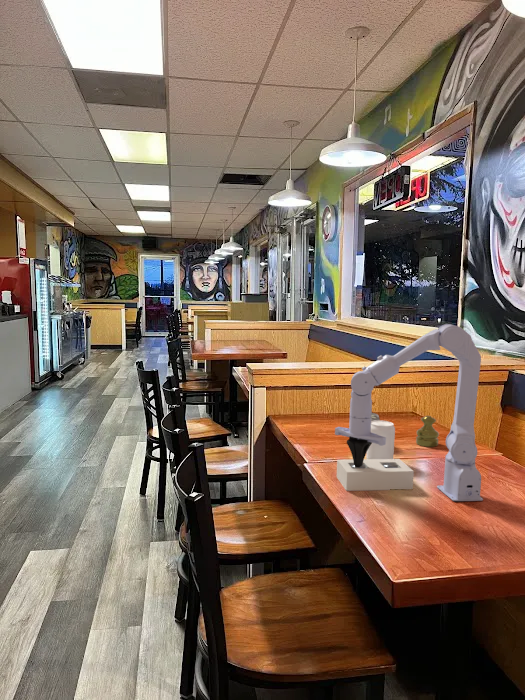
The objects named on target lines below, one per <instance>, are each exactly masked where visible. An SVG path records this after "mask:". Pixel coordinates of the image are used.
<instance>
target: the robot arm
mask: <svg viewBox="0 0 525 700" xmlns="http://www.w3.org/2000/svg"><path fill="white" fill-rule="evenodd" d="M441 347H442V348H443V349H445V350H447V351H448V352H450V353H451V354H452V355H453V356H454V357H455V359H456V360H457V361H459V367H458V376H457V384H456V385H457V386H456V391H455V392H456V393H455V402H454V403H455V404H454V412H453V413H454V414H453V419H452V420H453V421H452V423H451V426H450V430H449V433H448V434H447V436H446V437H445V446H446V447H447V450H448V452H447V454H445V459H444V460H445V461H444V472H443V475H444V476H443V484H441V485H437V486H436V488H437V489H438V490H439V491H441V492H442V493H443V494H444V495H446V496H447V497H448V498H449V499H451V501H453V502H476V501H478V502H479V501H482V502H483V500H484V498H483V497H481V487H482V475H481V472H480V471H479V469H477V467H476V458H477V455H478V447H477V445H476V433H475V426H474V424H475V418H476V417H475V416H476V415H475V414H476V408H477V399H478V398H477V397H478V391H479V390H478V389H479V382H480V372H481V363H482V355H481V354H480V352H479V350H478V348H477V346H476V345H475V343H474V341H473V339H472V335H471V334H470V333H468V332H467V331H466V330H465V329H464V328H462V327H461V326H458V325H454V324H451V323H445V324H442V325H440V326H439V328H434V329H433V330H430V331H429V332H427V333H425V334H423V335H422V336H420V337H418V338H417V339H416V340H415V341H413V342H412V343H410V344H409V345H407V346H405V347H404V348H402V349H401V350H399V351H398V352H397V353H396V354H394V355H390V354H385V355H382V354H381V355H379V356H377V360H376V361H374V362H372V363H371V364H369V365H368V366H366V365H364V366H363V367H362V368H361V369H362V370H359V371H357V372H355V373H354V374H353V375H352V377H351V380H350V387H351V392H350V397H351V398H350V401H349V402H350V403H349V420H348V421H349V423H348V424H349V425H348V426H349V427H343V426H337V427H334V435H335V436H342V437H347V438H348V439H347V440H346V444H347V446H348V448H349V450H350V451H349V452H350V453H351V457H352V459H353V461H354V466H356V467H360V466H362V464H363V461H364V459H365V456H366V455H367V450H368V449H369V447H370V445H371V444H372V443H376V444H379V445H380V446H383V445H385V444H386V437H383V436H380V435H377V434H374V433H372V432H371V414H372V413H373V412H372V408H373V400H372V391H373V390H374V387H375V386H380V385H382V384H383V383H385V382H387V381H388V380H390V379H391V378H393V377H394V376H396V375H397V374H399V372H400V367H401V366H403V365H405V364H406V363H408V362H409V361H411V360H413V359H415V358H416V357H419V356H420V355H422V354H423V353H425V352H427V351H440V350H441Z"/></svg>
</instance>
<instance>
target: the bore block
mask: <svg viewBox="0 0 525 700" xmlns="http://www.w3.org/2000/svg"><path fill="white" fill-rule="evenodd" d="M353 463H354V461H353V458H352V459H337V460H336V478H337V480H338V481H339V482H340V484H341V485H342V487H343V488H344V490H345V491H347V492H349V491H351V492H353V491H355V492H356V491H361V492H362V491H391V490H390V489H413V488H414V472H415V470H413V469H412V468H411V467H410V466H409V465H407V464H406V463H405V462H404V461H403V460H402V459H400V458H393V459H367V458H364V461H363V464H364V465H365V466H366V468H356V469H352V467H351V464H353ZM384 463H394V464H397V465H398V468H385V467H384V466H383V464H384Z"/></svg>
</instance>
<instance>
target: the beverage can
mask: <svg viewBox="0 0 525 700" xmlns="http://www.w3.org/2000/svg"><path fill="white" fill-rule="evenodd" d="M394 424H395V423H393V422H391V421H387V420H381V419H380V420H374V421H371V432H372V433H374V434H377V435H380V436H383V437H386V444H385V445H383V446H380V445H379V444H376V443H372V444H371V445H370V447H369V449H368V450H367V452H366V455H365V456H366V458H365V459H394V454H395V437H396V435H395V434H396V427H395V425H394Z"/></svg>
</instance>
